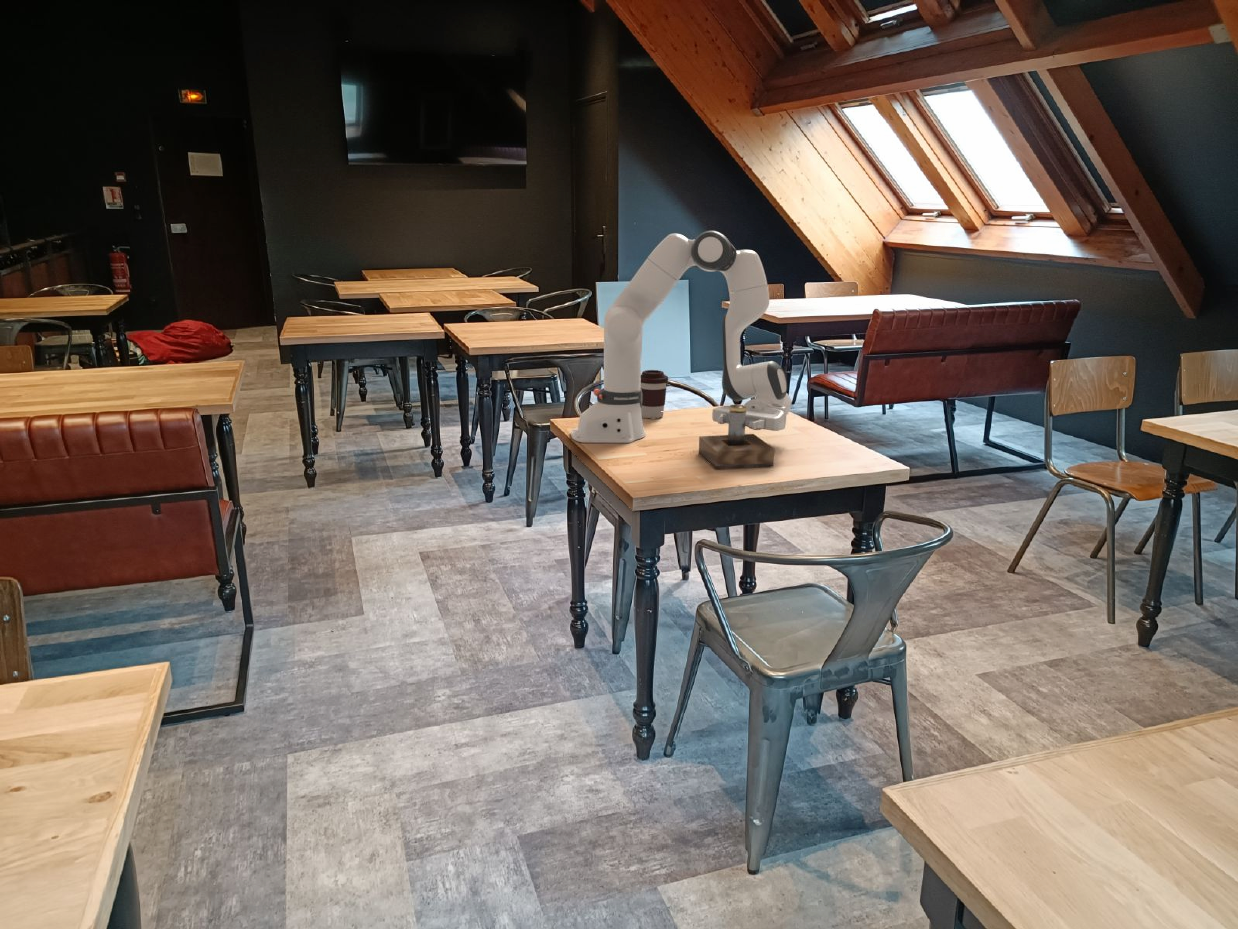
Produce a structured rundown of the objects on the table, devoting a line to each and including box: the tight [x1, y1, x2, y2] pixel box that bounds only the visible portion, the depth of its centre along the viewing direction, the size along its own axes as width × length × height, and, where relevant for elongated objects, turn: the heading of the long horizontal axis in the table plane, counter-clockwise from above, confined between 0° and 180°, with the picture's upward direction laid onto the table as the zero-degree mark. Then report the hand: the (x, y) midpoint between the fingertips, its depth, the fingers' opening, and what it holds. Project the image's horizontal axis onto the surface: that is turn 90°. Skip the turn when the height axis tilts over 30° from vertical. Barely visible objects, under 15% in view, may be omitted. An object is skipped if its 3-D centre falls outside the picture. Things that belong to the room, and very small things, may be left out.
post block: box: [698, 433, 775, 471], centre depth 244 cm, size 16×16×5 cm
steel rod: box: [727, 404, 746, 446], centre depth 242 cm, size 5×5×14 cm
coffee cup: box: [641, 369, 669, 419], centre depth 291 cm, size 10×10×15 cm
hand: (735, 423), depth 241 cm, fingers open, 8 cm apart
